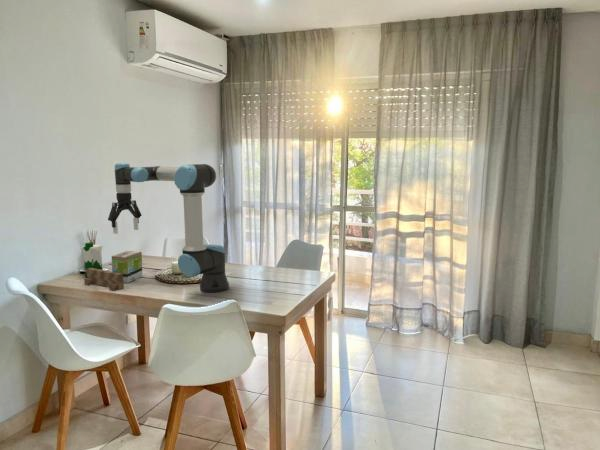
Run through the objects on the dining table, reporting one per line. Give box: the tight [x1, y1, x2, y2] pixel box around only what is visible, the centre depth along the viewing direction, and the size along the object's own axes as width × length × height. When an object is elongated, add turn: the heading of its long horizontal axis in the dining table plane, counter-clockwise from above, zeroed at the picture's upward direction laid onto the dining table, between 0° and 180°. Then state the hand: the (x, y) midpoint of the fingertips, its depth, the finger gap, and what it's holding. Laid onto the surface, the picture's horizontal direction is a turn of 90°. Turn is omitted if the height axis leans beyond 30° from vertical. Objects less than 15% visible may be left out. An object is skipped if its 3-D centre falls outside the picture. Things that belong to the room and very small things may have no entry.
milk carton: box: [81, 242, 104, 279], centre depth 269 cm, size 9×9×20 cm
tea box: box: [111, 250, 143, 284], centre depth 264 cm, size 15×10×15 cm, turn 168°
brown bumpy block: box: [83, 268, 125, 292], centre depth 250 cm, size 26×5×8 cm, turn 60°
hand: (126, 231), depth 255 cm, fingers open, 13 cm apart
